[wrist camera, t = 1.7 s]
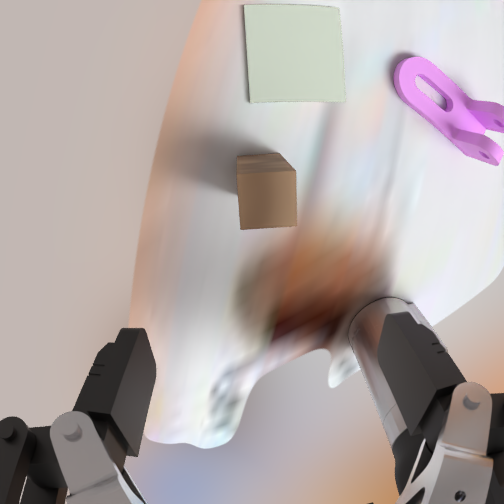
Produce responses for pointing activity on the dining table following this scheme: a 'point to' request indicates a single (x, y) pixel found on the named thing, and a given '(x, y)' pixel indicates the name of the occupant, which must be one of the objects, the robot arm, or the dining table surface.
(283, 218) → the walnut block
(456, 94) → the bracket
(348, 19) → the dining table surface
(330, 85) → the mat
